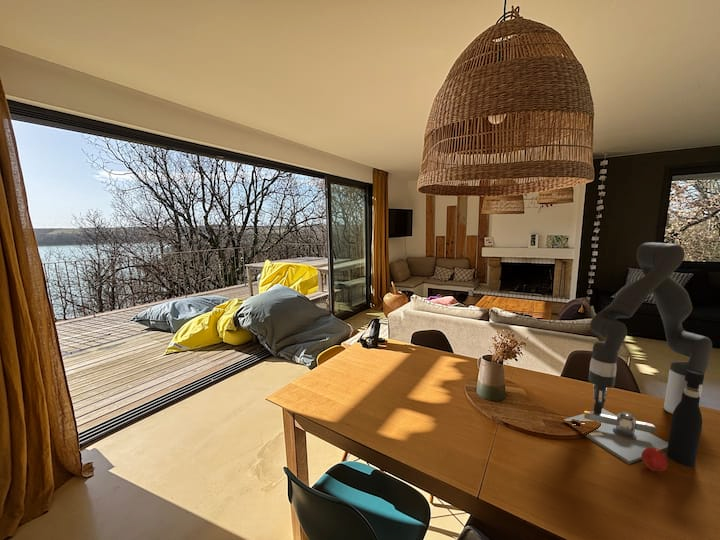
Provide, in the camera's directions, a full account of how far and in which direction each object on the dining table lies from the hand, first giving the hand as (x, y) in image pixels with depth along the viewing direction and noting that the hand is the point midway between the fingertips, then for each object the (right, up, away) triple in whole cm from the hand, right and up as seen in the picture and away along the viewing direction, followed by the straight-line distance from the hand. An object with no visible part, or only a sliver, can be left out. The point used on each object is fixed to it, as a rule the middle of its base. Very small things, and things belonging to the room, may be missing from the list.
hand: (597, 414), depth 113 cm
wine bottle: (+15, -7, -15) cm, 23 cm away
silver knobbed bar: (+4, -4, -4) cm, 7 cm away
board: (+3, -5, -4) cm, 7 cm away
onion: (+2, -8, -20) cm, 21 cm away
